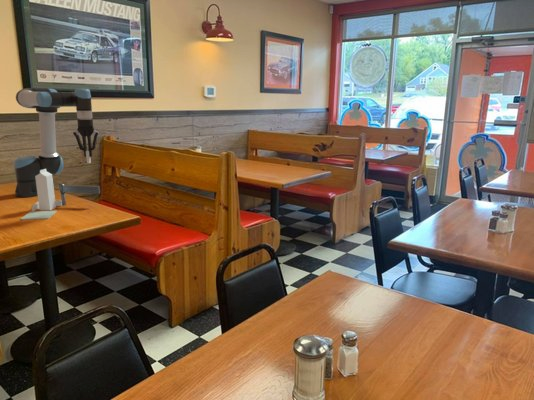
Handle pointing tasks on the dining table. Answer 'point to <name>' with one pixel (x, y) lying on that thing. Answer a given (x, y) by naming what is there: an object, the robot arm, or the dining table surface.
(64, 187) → the dark grey metallic bar
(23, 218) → the mat
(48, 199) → the milk
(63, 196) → the bracket
